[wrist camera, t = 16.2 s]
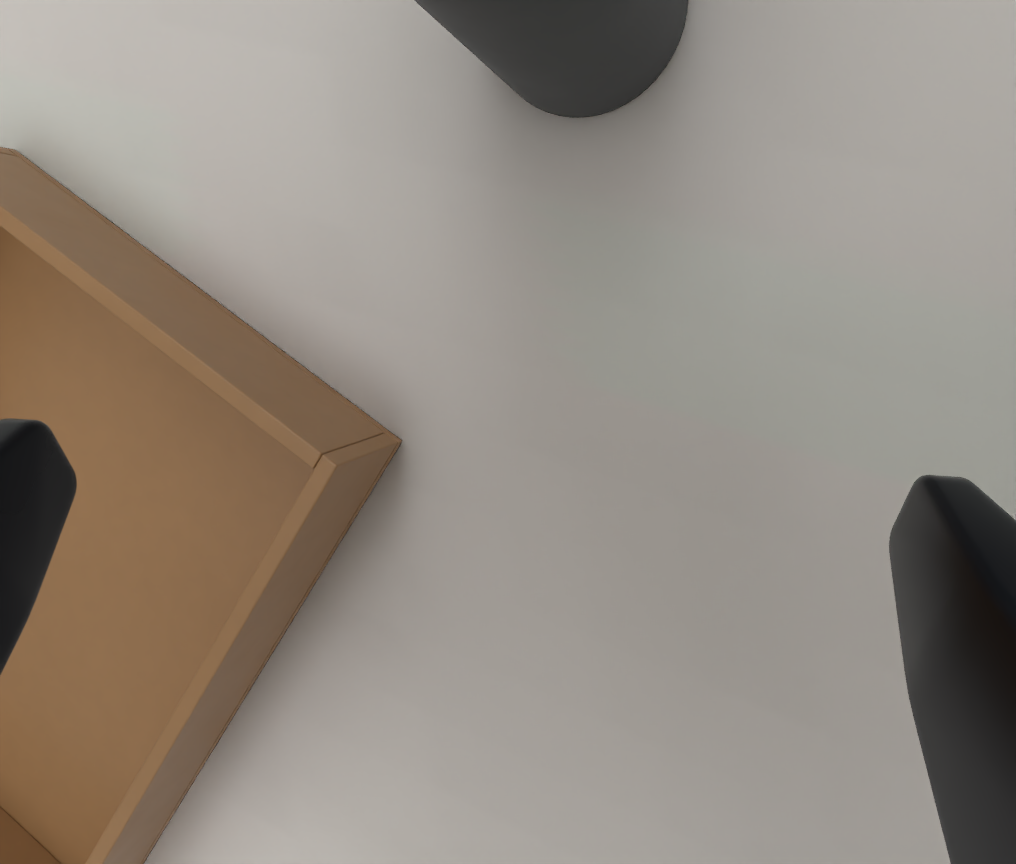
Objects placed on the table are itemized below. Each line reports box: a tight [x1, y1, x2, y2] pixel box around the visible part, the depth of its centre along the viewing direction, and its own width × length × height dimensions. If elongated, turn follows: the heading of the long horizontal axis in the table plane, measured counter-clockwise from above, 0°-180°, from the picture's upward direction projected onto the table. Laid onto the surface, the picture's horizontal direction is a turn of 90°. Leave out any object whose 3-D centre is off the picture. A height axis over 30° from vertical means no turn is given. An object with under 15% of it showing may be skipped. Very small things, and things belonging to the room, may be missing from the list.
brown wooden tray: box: [0, 147, 402, 864], centre depth 25 cm, size 16×22×4 cm
